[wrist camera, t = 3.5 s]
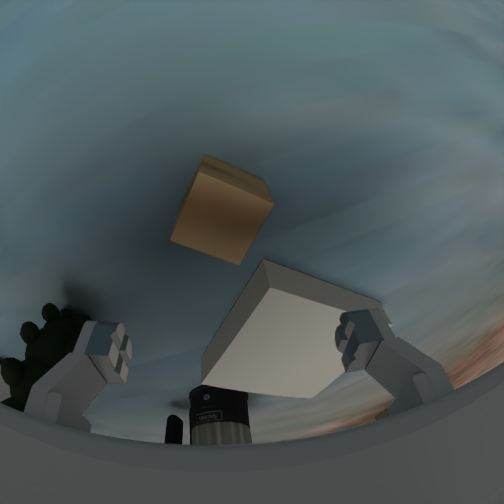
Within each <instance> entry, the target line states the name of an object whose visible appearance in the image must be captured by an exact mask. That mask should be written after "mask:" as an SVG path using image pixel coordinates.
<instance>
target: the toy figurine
mask: <svg viewBox="0 0 504 504" xmlns="http://www.w3.org/2000/svg"><path fill="white" fill-rule="evenodd" d="M42 316H43V319H44V320H46V321H47V322H46V323H45V325H44V327H43V328H42V329H40V330H39V328H38V327H37V325H36V324H34V323H33V322H25V323H24V324H23V325H22V327H21V331H20V335H21V337H22V339H23V341H24V342H25V343H27V347H26V352H25V360H23V361H22V362H21V361H19V360H17V359H16V358H5V359H4V361H3V362H2V363H1V371H0V372H1V376H2V378H3V380H4V382H5V383H6V384H7V385H9V386H10V395H11V397H9V398H7V399H5V400H3V401H1V402H0V403H2V404H4V405H6V406H9V407H11V408H13V409H16V410H18V411H21V412H24V410H25V406H26V403H27V400H28V397H29V394H30V391H31V388H32V385H33V384H35V383H36V382H37V381H38V380H39V379H40V378H41V377H42V376H43V375H45V374H46V373H47V372H48V371H49V370H50V369H51V368H53V367H54V366H55V365H56V364H57V363H58V362H59V361H61V360H62V359H63V358H64V357H65V356H66V355H67V354H69V353H73V351H74V348H75V345H76V343H77V340H78V338H79V335H80V333H81V330H82V328H83V325H84V323H85V322H86V321H92V320H91V319H90V318H89V317H87V316H78V317H77V318H76V320H74V319H72V313H71V311H70V310H69V309H67V308H66V309H61V311H59V310H58V308H57V307H56V306H55V305H54V304H51V303H48V304H46V305H45V306H43V309H42Z"/></svg>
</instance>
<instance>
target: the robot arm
mask: <svg viewBox="0 0 504 504" xmlns="http://www.w3.org/2000/svg"><path fill="white" fill-rule="evenodd" d="M339 320H340V323H341V324H340V325H339V326H338V327H337V328H336V331H335V344H336V347H337V350H338V351H339V352H341V353H342V354H343V355H342V358H341V361H342V364H343V366H344V369H345V372H346V373H347V372H353V371H359V370H364V369H365V371H366V372H367V373H369V374H370V375H371V376H372V377H373V378H374V379H375V380H376V381H377V382H378V383H379V384H381V385H382V386H383V387H384V388H385V389H386V390H387V391H388V392H389V393H391V394H392V395H393V396H394V397H395V399H394V400H393V401H392V402H391V403H390V405H389V406H388V408H387V410H388V413H389V416H388V417H385V418H382V419H379V420H376V421H372V422H369V423H365V424H362V425H358V426H354V427H350V428H346V429H342V430H338V431H334V432H329V433H324V434H319V435H314V436H308V437H302V438H296V439H289V440H282V441H273V442H264V443H252V444H236V445H181V444H165V443H154V442H144V441H136V440H129V439H122V438H116V437H110V436H105V435H100V434H95V433H91V432H90V430H91V423H90V422H89V421H88V420H87V419H86V418H85V417H84V416H83V415H82V413H83V412H84V411H85V410H86V408H87V407H88V406H89V405H90V403H91V402H92V401H93V400H94V398H95V397H96V396H97V395H98V394H99V392H100V391H101V390H102V389H103V387H104V386H105V385H106V384H107V383H106V382H110V383H122V384H126V381H127V376H128V371H129V369H128V367H127V365H126V364H127V363H128V362H129V361H130V360H131V357H132V344H131V340H130V338H129V337H128V336H127V335H126V334H124V333H125V327H124V325H123V323H116V322H102V321H86V322H85V323H84V325H83V328H82V330H81V333H80V335H79V338H78V340H77V343H76V345H75V348H74V351H73V353H69V354H67V355H66V356H65V357H64V358H63V359H62V360H61V361H59V362H58V363H57V364H56V365H55V366H54V367H53V368H51V369H50V370H49V371H48V372H47V373H46V374H45V375H43V376H42V377H41V378H40V379H39V380H38V381H37V382H36V383H35V384H33V385H32V388H31V391H30V394H29V397H28V400H27V403H26V406H25V410H24V412H21V411H18V410H16V409H13V408H11V407H9V406H6V405H4V404H2V403H0V504H504V363H501V364H500V365H498V366H497V367H495V368H493V369H492V370H490V371H488V372H487V373H485V374H483V375H481V376H480V377H478V378H476V379H474V380H472V381H471V382H469V383H467V384H465V385H463V386H461V387H459V388H457V389H455V390H454V388H453V386H452V384H451V382H450V380H449V378H448V376H447V374H446V372H445V371H444V369H443V367H442V365H441V364H439V363H438V362H436V361H435V360H433V359H432V358H430V357H429V356H427V355H426V354H424V353H422V352H421V351H419V350H418V349H416V348H415V347H413V346H412V345H410V344H409V343H407V342H406V341H404V340H403V339H401V338H400V337H395V335H394V333H393V332H392V330H391V328H390V326H389V324H388V323H387V321H386V319H385V317H384V316H383V314H382V312H381V310H380V309H379V308H372V309H366V310H365V309H364V310H357V311H350V312H343V313H342V314H341V316H340V319H339ZM0 371H1V365H0ZM9 397H11V395H10V386H9V385H7V384H6V383H5V382H4V380H3V378H2V376H1V372H0V402H1V401H3V400H5V399H7V398H9Z"/></svg>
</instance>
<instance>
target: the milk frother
mask: <svg viewBox="0 0 504 504" xmlns="http://www.w3.org/2000/svg"><path fill="white" fill-rule="evenodd" d="M189 399H190V403H191V408H190V410H189V420H190V445H236V444H252V439H251V433H250V425H249V416H248V405H247V400H248V394H247V392H244V391H238V390H231V389H225V388H220V387H214V386H209V385H205V386H202V387H199V388H196V389H195V390H193V391H192V392H191V393H190V395H189ZM182 437H183V421H182V420H181V419H180V418H179V417H177V416H176V415H170V416H169V417H168V419H167V426H166V435H165V444H181V445H182Z"/></svg>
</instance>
